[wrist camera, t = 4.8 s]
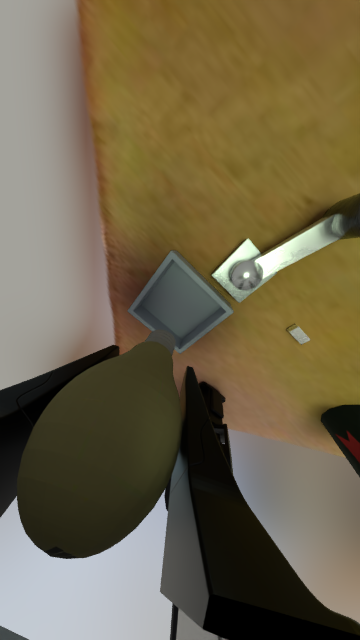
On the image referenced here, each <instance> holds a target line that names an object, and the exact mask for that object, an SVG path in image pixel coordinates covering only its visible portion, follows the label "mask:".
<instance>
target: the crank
mask: <svg viewBox="0 0 360 640" xmlns="http://www.w3.org/2000/svg"><path fill="white" fill-rule="evenodd" d="M358 237H360V193H359V194H357V195H354V196H352V197H349V198H347V199H344V200H342V201H339V202H338V203H336V204H334V205H333V206H332V207H331V208H330V209H329V210H328V211H327V212H326V213H325V214H324V216H323V218H322V219H320V220H318V221H317V222H315V223H313V224H312V225H310V226H308V227H307V228H305V229H303V230H301V231H300V232H298V233H296V234H295V235H293V236H291V237H290V238H288V239H286V240H284V241H283V242H281V243H279V244H278V245H276V246H274V247H273V248H271V249H269V250H268V251H266V252H264V253H262V254H261V255H259V256H257V257H256V258H254V259H252V260H243V261H240V262H238V263H237V264H236V265H235V266H234V267H233V268H232V270H231V273H230V280H231V282H232V284H233V285H234V286H235V287H236V288H237V289H239V290H242V291H248V290H251V289H253V288H255V287H256V286H258V285H259V283H260V282H261V280H262V279H263V278H265V277H267V276H269V275H271V274H273V273H275V272H277V271H278V270H280V269H282V268H284V267H286V266H288V265H290V264H292V263H294V262H296V261H298V260H300V259H302V258H303V257H305V256H307V255H309V254H311V253H313V252H315V251H317V250H319V249H321V248H323V247H325V246H326V245H328V244H330V243H332V242H334V241H336V240H339V239H349V238H358Z"/></svg>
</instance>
